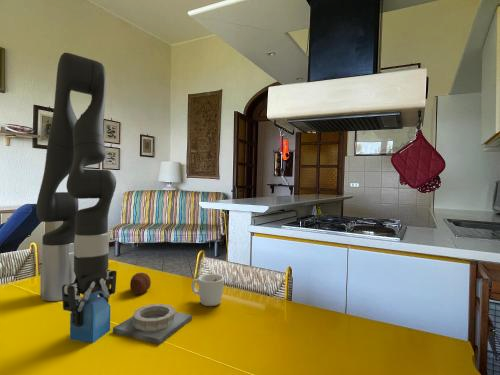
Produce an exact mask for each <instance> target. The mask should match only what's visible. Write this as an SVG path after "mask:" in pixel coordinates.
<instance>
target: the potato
mask: <svg viewBox="0 0 500 375" xmlns="http://www.w3.org/2000/svg"><path fill="white" fill-rule="evenodd" d="M129 283H130V284H129V287H130V291H131V292H132V293H133V294H134V295H140V294H144V293H145V292H146V291H148V290H149V289H150V288H151V284H152V280H151V277H150V275H148V274H147V273H145V272H137V273H135V274H134V275H132V277H131V279H130V282H129Z"/></svg>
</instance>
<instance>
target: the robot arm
mask: <svg viewBox="0 0 500 375" xmlns="http://www.w3.org/2000/svg"><path fill="white" fill-rule="evenodd" d="M55 80H56V81H55V93H54V95H55V96H54V105H53V114H52V117H51V123H50V129H49V133H48V139H47V147H46V154H45V161H44V162H45V164H44V170H43V176H42V180H41V185H40V189H39V193H38V197H37V202H36V212H35V213H36V217H37V219H38V221H40V222H42V223H53V222H62V224H61V225H60V226H58V227H57V228H55V229H53V230H50V231H47V232H46V233H44V234H43V236H42V238H41V239H42V240H41V241H42V242H41V243H42V248H41V250H42V253H41V254H42V255H41V256H42V261H41V262H42V265H41V267H40V289H39V290H40V293H39V294H40V297H41V299H42V300H43V301H45V302H58V301H59V302H60V301H62V309H63V310H62V311H66V312H70V313H71V312H72V324H73V325H74V326H76V327H81V326H82V325H83V310H82V309H83V306H84V304H85V302H86V301H87V300H88V298H89V296H90V294H91V293H92V289H93V288H94V287H96V286H98V289H97V291H98V290H99V295H98V297H103V298H105V300H106V301H107V302H108V303H109V299H110V297H111V296H112V295H114V294H116V290H117V288H116V287H117V271H116V270H113V269H109V252H110V251H109V250H110V246H109V245H110V244H109V241H110V240H109V231H108V230H109V229H108V228H109V227H108V226H109V225H108V224H109V222H108V221H109V211H110V207H111V203H112V199H113V197H114V194H115V191H116V188H117V179H116V176H115V174H114V172H112V171H111V170H108V169H95V168H94V169H91V168H85V167H88V166H93V165H98V164H101V163H102V162H104V161H105V159H106V145H105V133H104V131H105V130H104V118H105V109H106V108H105V106H106V93H107V92H106V90H107V88H106V87H107V72H106V68H105V66H104V65H103V63H102V62H99V61H97V60H96V59H95V60H94V59H92V58H91V59H90V58H87V57H84V56H80V55H78V54H74V53H71V52H63V53H62V54H61V55H60V57H59V59H58V63H57V71H56V78H55ZM72 91H73V92H76V93H80V94H81V93H82V94H85V95H89V96H90V95H91V100H90V103H89V105H88V106H87V108H86V109H85V110H84V112H83V113H81V115H80V116H79V118H77V116H76V114H75V111H74V109H73V106H72V103H71V92H72ZM67 176H68V177H67ZM65 178H67V179H66V190H67V192H66V191H62V192H61V191H58V192H57V189H58V188H59V187H60V184H61V183H62V182H63V180H64V179H65ZM79 199H81V200H83V199H98V201H97V203H96V204H95V205H93V206H90V207H86V208H81V209H79ZM81 295H82V296H81ZM83 295H84V296H83ZM79 301H80V302H79ZM78 302H79V304H78ZM77 304H78V305H77Z"/></svg>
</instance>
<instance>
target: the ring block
mask: <svg viewBox="0 0 500 375" xmlns="http://www.w3.org/2000/svg"><path fill="white" fill-rule="evenodd" d="M192 318H193V315H192V314H189V313H184V312H178V311H176V308H174V307H173V306H172V305H170V304H164V303H155V304H153V303H152V304H148V305H143V306H141V307H139V308H137V309H135V310H134V312H133V314H132V316H131V317H129V318H127V319H126V320H124V321H122V322H120V323H119V324H117V325H115V326H113V327H112V333H114V334H117V335H120V336H126V337H128V338H129V337H130V338H133V339H137V340H141V341H145V342H147V343H153V344H156V345H161V344H162V343H163V342H165V341H166V340H168V339H169V338H170V337H172V336H173V335H174V334H176V333H177V331H180V329H182V328H183V327H184V326H185V325H186V324H188V323H190V322H191V321H192V320H193V319H192Z"/></svg>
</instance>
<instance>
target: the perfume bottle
mask: <svg viewBox="0 0 500 375" xmlns="http://www.w3.org/2000/svg"><path fill="white" fill-rule="evenodd" d="M97 289H98V286H96V287H94V288H93V289H92V293H91V294H90V296H89V298H88V300H87V301H86V302H85V304H84V306H83V309H82V310H83V325H82V326H81V327H76V326H74V325H73V324H72V312H70V313H69V314H70V316H69V317H70V318H69V319H70V320H69V326H70V327H69V340H71V341H77V342H84V343H91V344H94V343H96V342H97V341H98V340H99V339H101V338H102V337H103V336H105V335H106V334H107V333H109V332H110V331H111V305H110V303H109V301H108V302H107V301H106V300H105V298H103V297H99V290H98V291H97ZM83 296H84V295H82V297H83ZM79 302H80V300H79ZM79 302H78V304H79ZM78 304H77V305H78Z"/></svg>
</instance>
